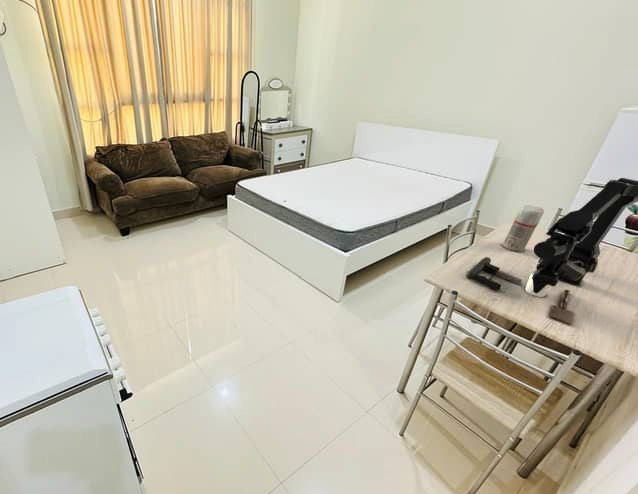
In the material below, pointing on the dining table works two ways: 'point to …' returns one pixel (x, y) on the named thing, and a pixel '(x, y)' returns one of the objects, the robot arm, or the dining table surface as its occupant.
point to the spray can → (523, 228)
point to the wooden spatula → (562, 310)
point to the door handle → (490, 269)
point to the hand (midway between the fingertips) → (536, 289)
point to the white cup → (530, 288)
